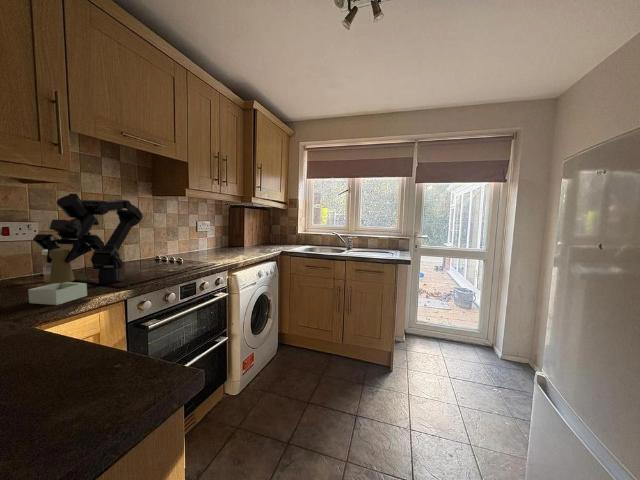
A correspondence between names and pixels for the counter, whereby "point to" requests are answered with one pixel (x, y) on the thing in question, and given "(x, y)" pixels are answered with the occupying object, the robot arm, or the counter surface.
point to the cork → (60, 266)
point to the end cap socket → (57, 293)
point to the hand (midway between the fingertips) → (57, 262)
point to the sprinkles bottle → (46, 266)
